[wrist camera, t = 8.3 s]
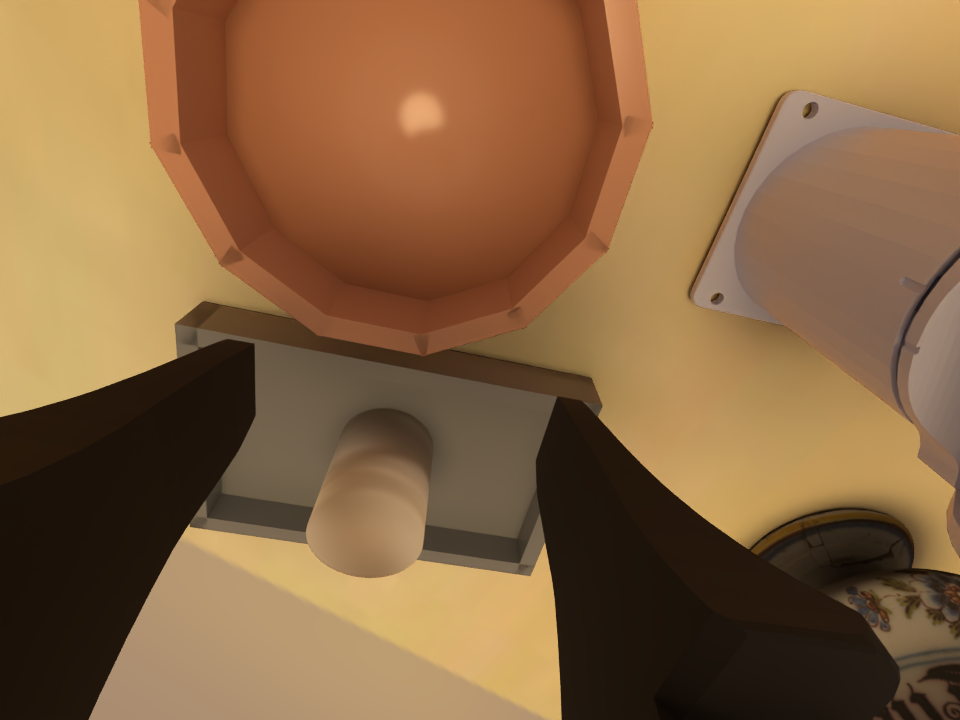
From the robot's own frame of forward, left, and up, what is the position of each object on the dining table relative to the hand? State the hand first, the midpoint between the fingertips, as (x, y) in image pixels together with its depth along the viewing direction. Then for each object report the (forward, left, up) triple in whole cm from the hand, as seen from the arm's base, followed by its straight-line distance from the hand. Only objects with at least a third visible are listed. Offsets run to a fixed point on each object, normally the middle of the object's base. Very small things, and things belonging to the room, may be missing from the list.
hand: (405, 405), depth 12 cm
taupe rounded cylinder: (+1, +9, -9) cm, 12 cm away
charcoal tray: (+1, +9, -9) cm, 13 cm away
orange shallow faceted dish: (+2, -5, -9) cm, 11 cm away
